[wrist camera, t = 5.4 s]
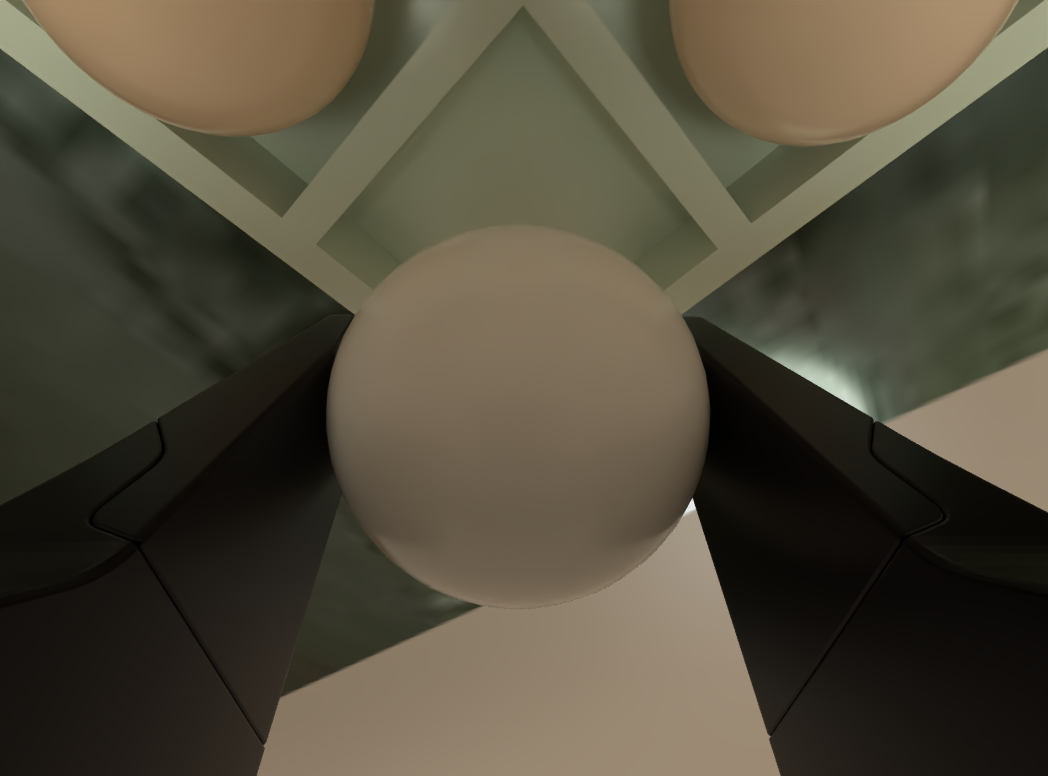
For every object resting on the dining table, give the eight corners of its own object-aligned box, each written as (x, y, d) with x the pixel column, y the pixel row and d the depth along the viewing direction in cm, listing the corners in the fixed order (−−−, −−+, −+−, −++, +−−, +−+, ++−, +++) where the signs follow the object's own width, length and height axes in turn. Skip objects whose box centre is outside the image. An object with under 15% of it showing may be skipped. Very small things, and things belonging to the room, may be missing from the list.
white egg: (514, 465, 12) (517, 720, 8) (308, 318, 10) (171, 573, 6) (720, 320, 10) (861, 569, 6) (520, 90, 8) (531, 245, 4)
